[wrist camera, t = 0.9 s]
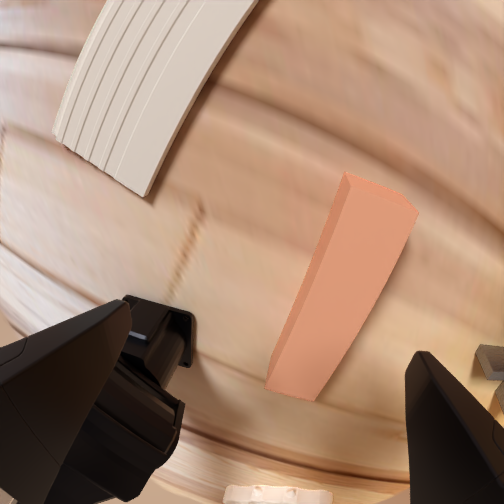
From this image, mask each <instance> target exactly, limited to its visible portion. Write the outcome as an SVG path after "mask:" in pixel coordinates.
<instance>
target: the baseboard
mask: <svg viewBox="0 0 504 504" xmlns="http://www.w3.org/2000/svg"><path fill="white" fill-rule="evenodd" d="M258 1H259V0H107V2H106V4H105V5H104V7H103V9H102V11H101V13H100V15H99V16H98V18H97V20H96V22H95V24H94V26H93V28H92V30H91V32H90V34H89V36H88V38H87V40H86V42H85V45H84V47H83V49H82V51H81V53H80V56H79V58H78V60H77V63H76V65H75V67H74V70H73V72H72V75H71V77H70V80H69V82H68V85H67V88H66V90H65V93H64V96H63V99H62V102H61V104H60V107H59V110H58V113H57V117H56V120H55V123H54V126H53V129H52V133H53V134H54V135H55V136H56V140H57V141H58V142H60V143H62V144H64V145H65V146H67V147H68V148H70V150H72V151H73V152H76V153H77V154H79V155H80V156H82V157H83V158H84V159H85V160H87V161H89V162H91V163H92V164H94V165H95V166H97V167H98V168H99V169H100V170H102V171H104V172H106V173H107V174H109V175H111V176H112V177H114V179H115V180H117V181H118V182H120V183H121V184H123V185H124V186H126V187H128V188H129V189H131V190H132V191H134V192H135V193H137V194H138V195H140V196H141V197H145V196H146V195H148V194H149V191H150V189H151V187H152V185H153V183H154V180H155V178H156V176H157V174H158V172H159V170H160V168H161V165H162V163H163V161H164V159H165V157H166V155H167V153H168V151H169V149H170V147H171V145H172V143H173V141H174V139H175V137H176V135H177V133H178V131H179V130H180V128H181V126H182V124H183V122H184V120H185V118H186V116H187V115H188V113H189V111H190V109H191V107H192V105H193V104H194V102H195V100H196V98H197V96H198V95H199V93H200V91H201V89H202V88H203V86H204V84H205V83H206V81H207V79H208V78H209V76H210V74H211V72H212V71H213V69H214V68H215V66H216V64H217V63H218V61H219V59H220V58H221V56H222V55H223V53H224V51H225V50H226V48H227V47H228V45H229V44H230V42H231V41H232V39H233V38H234V36H235V35H236V33H237V32H238V30H239V29H240V27H241V26H242V24H243V23H244V21H245V20H246V18H247V17H248V15H249V14H250V13H251V11H252V10H253V8H254V7H255V6H256V4H257V3H258Z"/></svg>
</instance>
